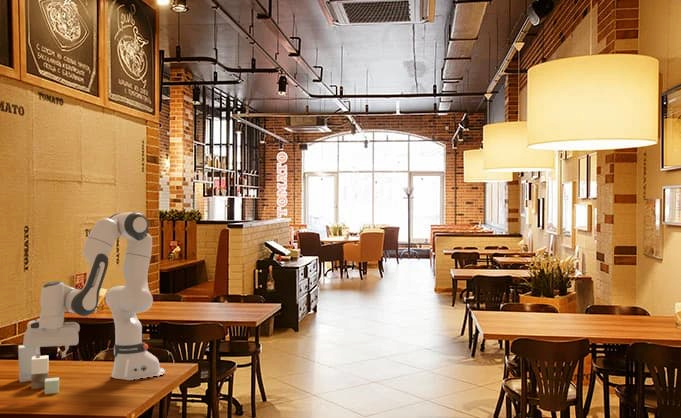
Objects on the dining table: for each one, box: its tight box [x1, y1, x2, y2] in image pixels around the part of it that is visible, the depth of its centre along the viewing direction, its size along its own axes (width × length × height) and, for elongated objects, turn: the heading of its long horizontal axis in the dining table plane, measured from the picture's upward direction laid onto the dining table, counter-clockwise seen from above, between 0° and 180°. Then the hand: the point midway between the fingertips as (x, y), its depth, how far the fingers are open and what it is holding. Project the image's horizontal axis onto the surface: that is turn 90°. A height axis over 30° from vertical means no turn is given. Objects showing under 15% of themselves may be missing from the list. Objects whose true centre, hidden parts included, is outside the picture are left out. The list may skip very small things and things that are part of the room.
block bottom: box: [30, 372, 49, 390], centre depth 265 cm, size 6×6×6 cm
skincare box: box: [17, 344, 41, 383], centre depth 275 cm, size 8×6×15 cm
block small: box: [44, 376, 60, 395], centre depth 257 cm, size 5×5×5 cm
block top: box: [31, 354, 50, 374], centre depth 265 cm, size 6×6×6 cm
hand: (50, 357), depth 257 cm, fingers open, 8 cm apart
